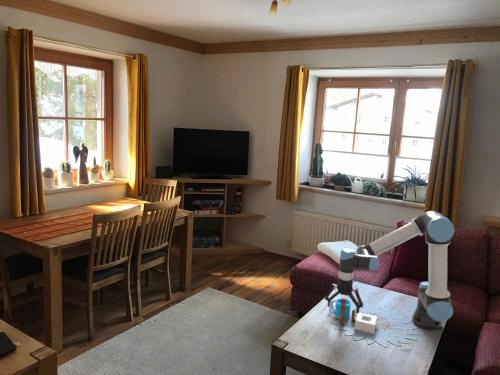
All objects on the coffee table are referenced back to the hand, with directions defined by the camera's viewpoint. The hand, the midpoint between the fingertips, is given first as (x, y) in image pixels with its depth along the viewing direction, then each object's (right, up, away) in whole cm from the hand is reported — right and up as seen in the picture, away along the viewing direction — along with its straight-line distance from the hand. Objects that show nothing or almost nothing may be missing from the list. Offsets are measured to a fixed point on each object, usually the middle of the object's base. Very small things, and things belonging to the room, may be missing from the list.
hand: (342, 315), depth 215 cm
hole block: (+12, -6, 0) cm, 14 cm away
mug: (+1, -4, +13) cm, 14 cm away
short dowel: (+8, -5, +6) cm, 11 cm away
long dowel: (0, -6, +1) cm, 6 cm away
